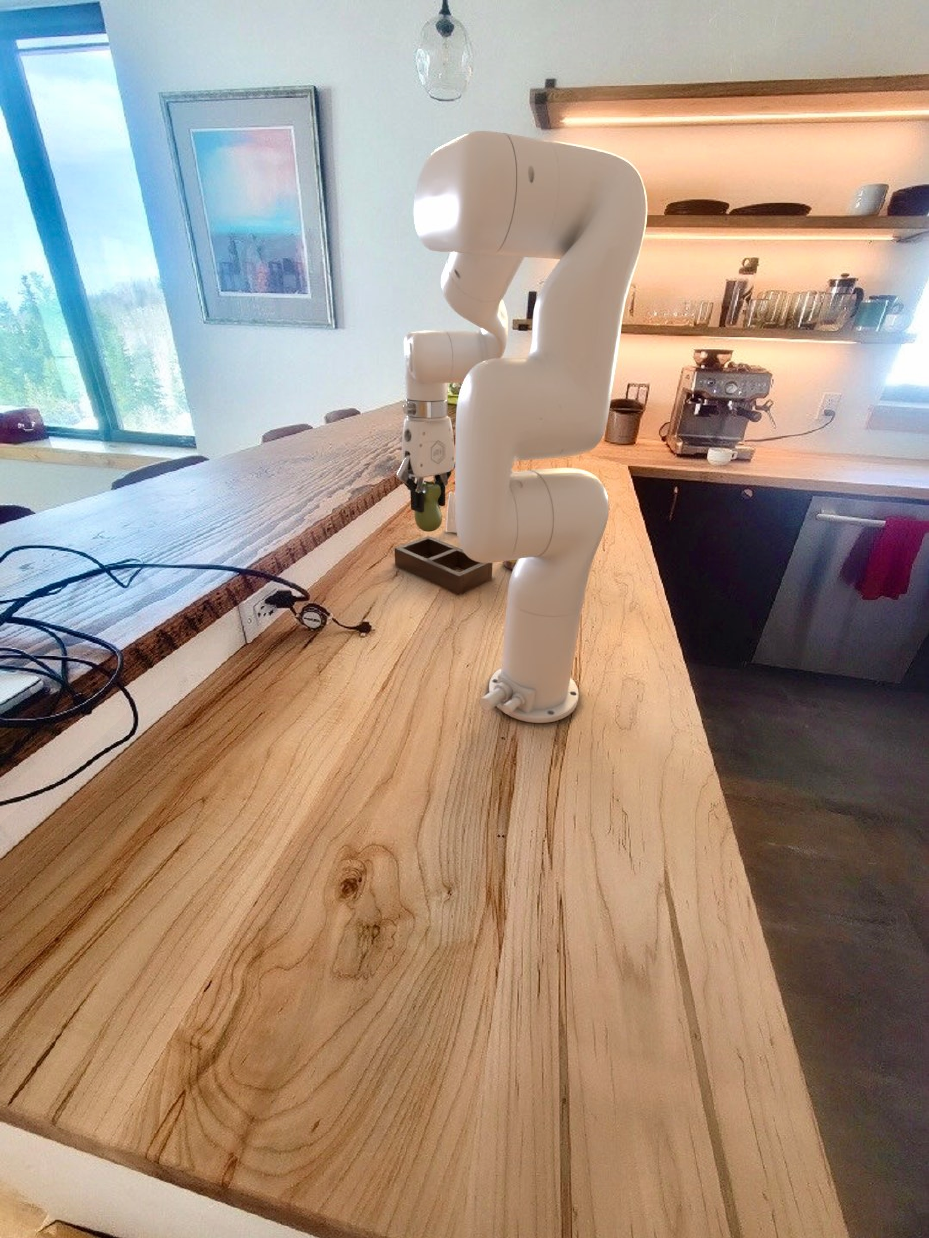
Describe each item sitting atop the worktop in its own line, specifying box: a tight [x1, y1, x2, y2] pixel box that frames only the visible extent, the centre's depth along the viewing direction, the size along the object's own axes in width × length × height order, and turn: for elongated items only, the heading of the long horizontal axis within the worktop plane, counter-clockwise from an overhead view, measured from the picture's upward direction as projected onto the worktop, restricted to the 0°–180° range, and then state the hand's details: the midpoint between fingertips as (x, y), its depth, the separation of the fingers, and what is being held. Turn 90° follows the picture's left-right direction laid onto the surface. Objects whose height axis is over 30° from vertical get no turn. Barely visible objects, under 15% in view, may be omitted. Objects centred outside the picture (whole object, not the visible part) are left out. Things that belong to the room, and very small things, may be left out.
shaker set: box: [445, 491, 457, 534], centre depth 122 cm, size 12×4×11 cm, turn 76°
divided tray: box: [393, 535, 494, 596], centre depth 104 cm, size 10×19×4 cm, turn 47°
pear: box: [413, 480, 443, 533], centre depth 100 cm, size 6×5×10 cm
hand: (428, 506), depth 100 cm, fingers closed on pear, 5 cm apart
